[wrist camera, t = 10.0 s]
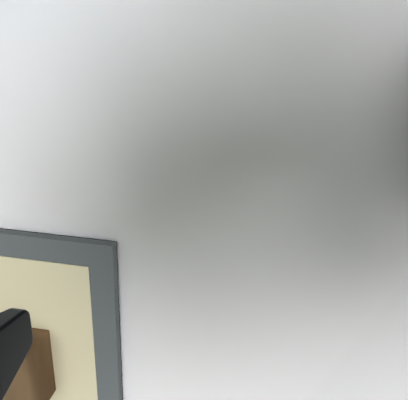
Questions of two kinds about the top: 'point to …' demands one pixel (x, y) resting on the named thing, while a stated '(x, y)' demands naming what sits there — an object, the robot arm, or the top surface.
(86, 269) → the slate pad
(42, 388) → the walnut cube
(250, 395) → the top surface
